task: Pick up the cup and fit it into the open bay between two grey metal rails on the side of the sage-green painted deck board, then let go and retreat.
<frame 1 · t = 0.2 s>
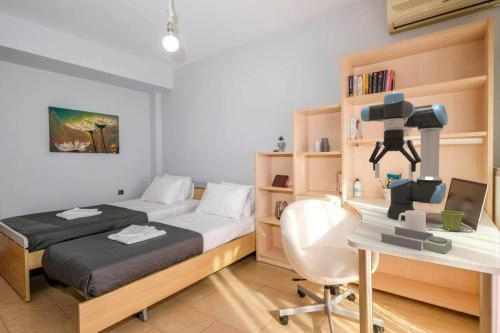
hand: (393, 178, 112), 27 cm above the table, fingers open, 13 cm apart
deck: (418, 244, 109), on the table
cup: (411, 232, 125), on the table
plant pot: (451, 230, 129), on the table
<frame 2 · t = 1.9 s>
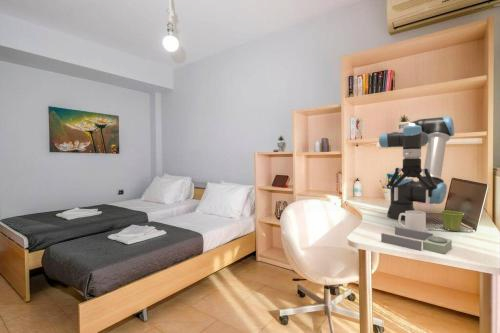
hand: (411, 202, 125), 15 cm above the table, fingers open, 13 cm apart
nothing on the table moved.
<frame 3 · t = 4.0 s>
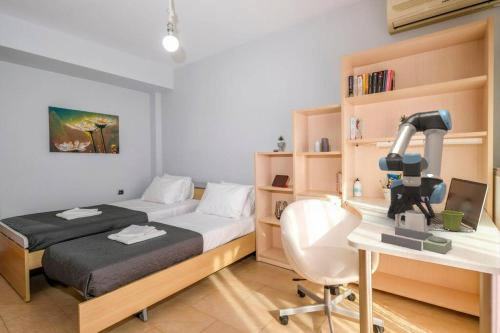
hand: (411, 229, 125), 1 cm above the table, fingers closed on cup, 12 cm apart
cup: (411, 232, 125), on the table, touching gripper
everything else where it was.
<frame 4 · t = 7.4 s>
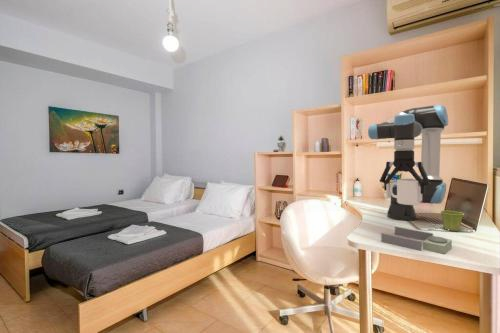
hand: (403, 199, 113), 18 cm above the table, fingers closed on cup, 12 cm apart
cup: (403, 203, 113), point 17 cm above the table, touching gripper
everything else where it was.
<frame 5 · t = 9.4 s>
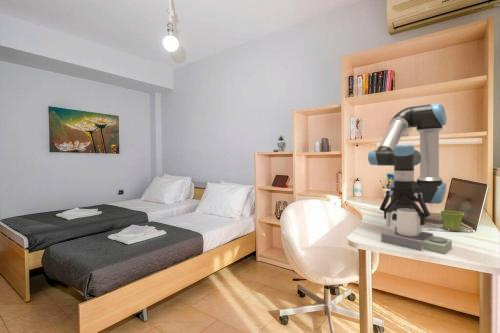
hand: (403, 229, 113), 5 cm above the table, fingers closed on cup, 12 cm apart
cup: (403, 232, 113), point 3 cm above the table, touching gripper
everything else where it was.
when the fingers open (3 cm above the table, at t = 11.0 s): cup drops 2 cm, on the table.
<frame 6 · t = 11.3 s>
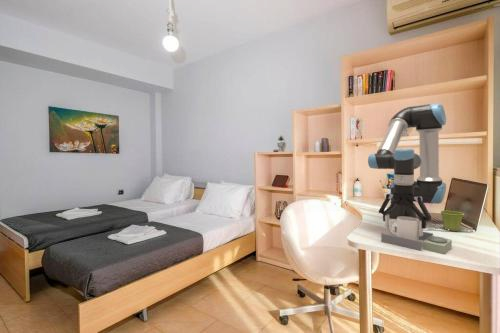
hand: (403, 232, 113), 4 cm above the table, fingers open, 13 cm apart
cup: (402, 240, 114), on the table
everything else where it was.
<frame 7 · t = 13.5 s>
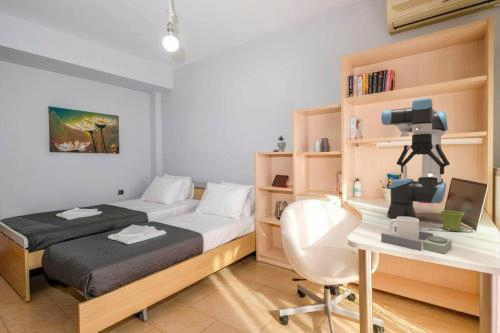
hand: (421, 180, 117), 26 cm above the table, fingers open, 13 cm apart
nothing on the table moved.
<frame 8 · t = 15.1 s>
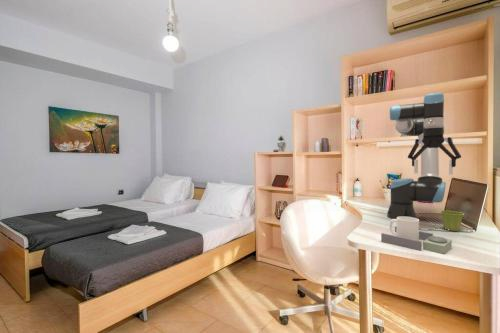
hand: (432, 173, 119), 29 cm above the table, fingers open, 13 cm apart
nothing on the table moved.
at the end: cup inside the target area on the deck (0.4 cm from its centre), point 0.0 cm above the deck's base; cup tilted 0°; the gripper is holding nothing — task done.
